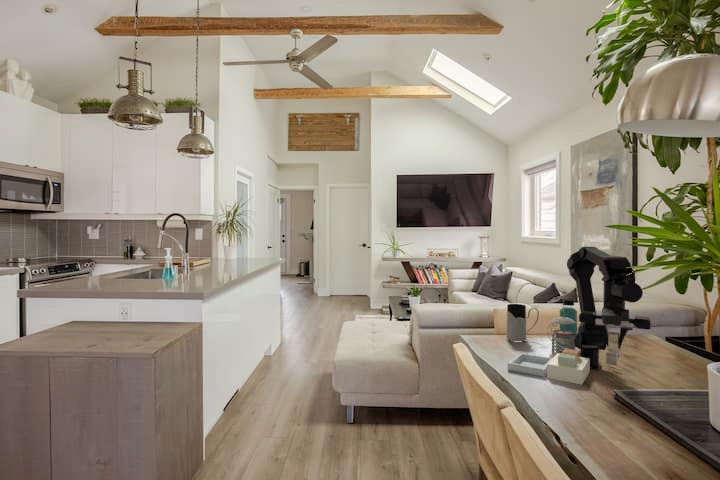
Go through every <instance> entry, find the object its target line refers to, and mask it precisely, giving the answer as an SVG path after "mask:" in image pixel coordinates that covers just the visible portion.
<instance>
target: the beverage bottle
mask: <svg viewBox="0 0 720 480" xmlns="http://www.w3.org/2000/svg"><path fill="white" fill-rule="evenodd" d="M562 305H564V317H567V318H570V319H572V320H574V321H575V322H576V323H575V324H573V325H564V330H566V331H572V332H574V335H572V336H574V337H576V336H577V334H578V327H579V326H578V311H577V309H576V308H574V307H573V306H574V305H575V301H574V299H571V298H570V299H569V298H563V299H562ZM566 306H567V307H566ZM568 306H571V307H568ZM559 317H563V307H561V308H560V309H559ZM558 330H563V324H559V329H558ZM563 339H571V338H569V337H564V338H563ZM563 346H567V344H566V345H563ZM575 348H577V347H576V346H575Z"/></svg>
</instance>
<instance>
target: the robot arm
mask: <svg viewBox="0 0 720 480" xmlns="http://www.w3.org/2000/svg"><path fill="white" fill-rule="evenodd" d="M596 266H598V271H599V272H600V273H601V274H602V278H601V281H603V307H602V309H601V315H600V314H597V311H596V304H595V298H594V297H595V296H594V291H593V287H592V286H593V285H592V281H591V278H592V276H593V274H594V273H595V267H596ZM566 267H567V269H568V271H569V275H570V277H572V279H573V280H574V282H575V285H576V291H577V297H578V303H579V305H578V306H579V309H580V310H579V312H580V313H579V315H578V322H579V323H580V324H579V326H578V327H577V329H578V331H577V333H578V334H577V336H576V337H575V339H574V344H575V346H576V347H575V348H577V350H579V351H580V357H585V358H590V369H594V370H599V369H600V368H601V366H602V363H600V350H601V351H602V350H603V351H606V349H607V347H608V337H609V332H610V331H609V325H613V326H616V327H620V329H619V330H620V331H619V343H618V348H619V349H620V347H622V344H623V341H624V338H625V336H626V335H627V333H628V331H633V328H634V327H635V328H636V329H640V330H648V331H649V330H650V331H651V329H652V319H651V317H648V316H639V315H635V317H634V318H630V309H628V308H627V309H626V302H628V303H637V302H638V301H640V300H641V299H642V296H643V294H644V293H643V290H642V288H641V286H640V285H639V284H638V283H636V279H637V278H636V272H635V271H634V268H626V267H632V265H631V263H630V260H629V259H628V258H627V257H626V256H621V255H610V254H608V253H606V252H605V251H603V250H601V249H598V247H595V246H582V247H580V248H579V250H577V251H575V252H574V253H572V254H571V255H570V256H569V258H568V259H567V261H566ZM632 271H633V272H634V273H633V272H632ZM629 273H632V274H630V275H627V274H629ZM626 275H627V276H626Z"/></svg>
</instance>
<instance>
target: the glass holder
mask: <svg viewBox="0 0 720 480" xmlns="http://www.w3.org/2000/svg"><path fill="white" fill-rule="evenodd" d="M506 307H507V311H506V337H505V339H506V338H507V339H508V340H512V341H525V340H527V341H528V339H527V334H528V332H530V330H532V329H533V328H534V327H535V326H536V325H537V323H538V321H539V314H540V313H539V310H538V309H537V308H536V307H532V308H530V309H529V310H528V312H526V311H527V310H526V309H527V307H526V305H525V304H520V303H508V304H507V306H506ZM532 310H536V313H537V314H536V315H537V316H536V320H535V322H534V323H533V325H532V326H531V327H529V328H528V330H527V319H529V318H530V316H531V315H530V314H531V311H532ZM526 313H527V314H528V315H526ZM508 340H507V341H508Z"/></svg>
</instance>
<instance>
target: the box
mask: <svg viewBox="0 0 720 480" xmlns="http://www.w3.org/2000/svg"><path fill="white" fill-rule="evenodd" d="M552 359H553V358H550V357H549V356H548V357H547V356H543V355H542V356H541V355H536V354H530V353H523V352H520V353H518V354H517V355H516V356H514V357H513V358H512V359H511V360H510V361H508V362H507V371H509V372H514V373H519V374H524V375H530V376H535V377H539V378H545V377H547V364H548V363H549V362H550V361H551V360H552Z"/></svg>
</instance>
